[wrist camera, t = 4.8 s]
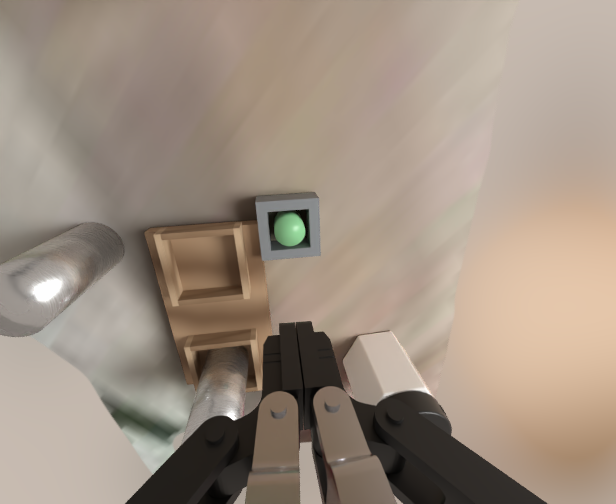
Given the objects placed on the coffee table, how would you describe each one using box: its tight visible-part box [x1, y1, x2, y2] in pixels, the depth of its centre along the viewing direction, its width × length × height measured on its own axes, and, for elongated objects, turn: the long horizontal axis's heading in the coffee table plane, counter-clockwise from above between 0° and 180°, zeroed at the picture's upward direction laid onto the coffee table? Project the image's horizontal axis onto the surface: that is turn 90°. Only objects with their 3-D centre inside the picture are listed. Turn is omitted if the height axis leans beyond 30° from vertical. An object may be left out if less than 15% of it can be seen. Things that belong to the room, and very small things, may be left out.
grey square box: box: [255, 192, 321, 261], centre depth 29 cm, size 6×6×3 cm
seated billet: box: [181, 345, 249, 445], centre depth 30 cm, size 5×5×11 cm
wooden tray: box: [144, 220, 272, 392], centre depth 32 cm, size 21×11×4 cm, turn 2°
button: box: [274, 210, 305, 246], centre depth 29 cm, size 3×3×3 cm
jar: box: [343, 331, 452, 435], centre depth 34 cm, size 9×8×12 cm
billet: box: [0, 223, 124, 337], centre depth 24 cm, size 5×5×11 cm
